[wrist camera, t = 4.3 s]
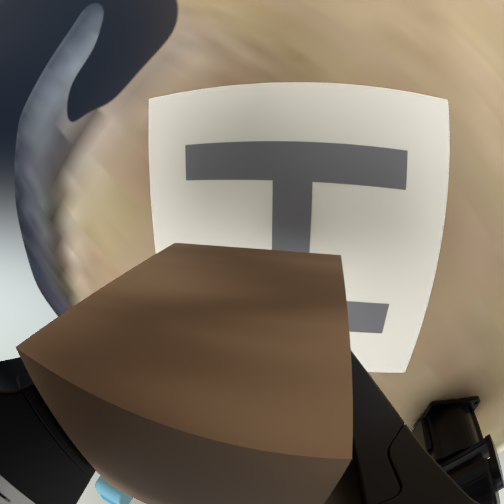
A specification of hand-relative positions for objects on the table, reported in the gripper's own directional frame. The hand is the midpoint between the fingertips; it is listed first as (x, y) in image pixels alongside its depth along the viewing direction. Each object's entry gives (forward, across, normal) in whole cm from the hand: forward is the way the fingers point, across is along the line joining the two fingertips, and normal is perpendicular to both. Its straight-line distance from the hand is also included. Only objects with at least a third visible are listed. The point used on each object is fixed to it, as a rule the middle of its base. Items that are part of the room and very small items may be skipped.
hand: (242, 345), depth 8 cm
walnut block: (+1, 0, 0) cm, 1 cm away
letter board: (+12, 0, 0) cm, 12 cm away
